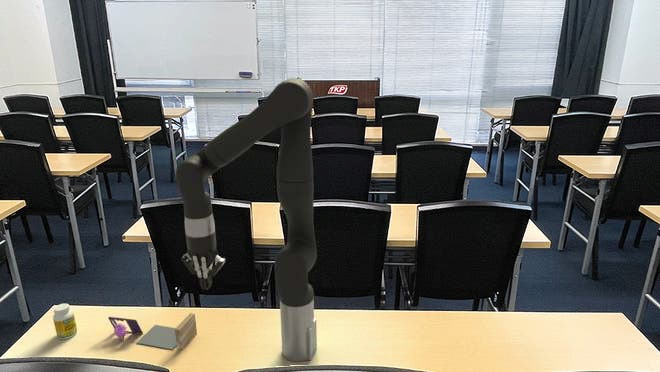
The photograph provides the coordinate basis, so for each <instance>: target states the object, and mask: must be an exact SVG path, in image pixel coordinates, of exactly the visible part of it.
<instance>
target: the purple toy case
mask: <svg viewBox="0 0 660 372" xmlns="http://www.w3.org/2000/svg"><path fill="white" fill-rule="evenodd" d="M108 320H109V323H111V325H112V327H113V333H114V335H115V336H116V337H117V338H121V342H124V341H125V339H124V338H125V336H126V335H128V333H129V334H135V335H143V334H144V332H143V330H142V329H141V326H140V325H139V323H138V320H137V319H133V318H124V317H116V316H108ZM117 321H118V322H119V321H120V322H124V321H125V322H126V324H127V325H128V327H129V330H130V331H129V330H126V329H127V327H126V325H125V324H123V323H118V322H117Z"/></svg>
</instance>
